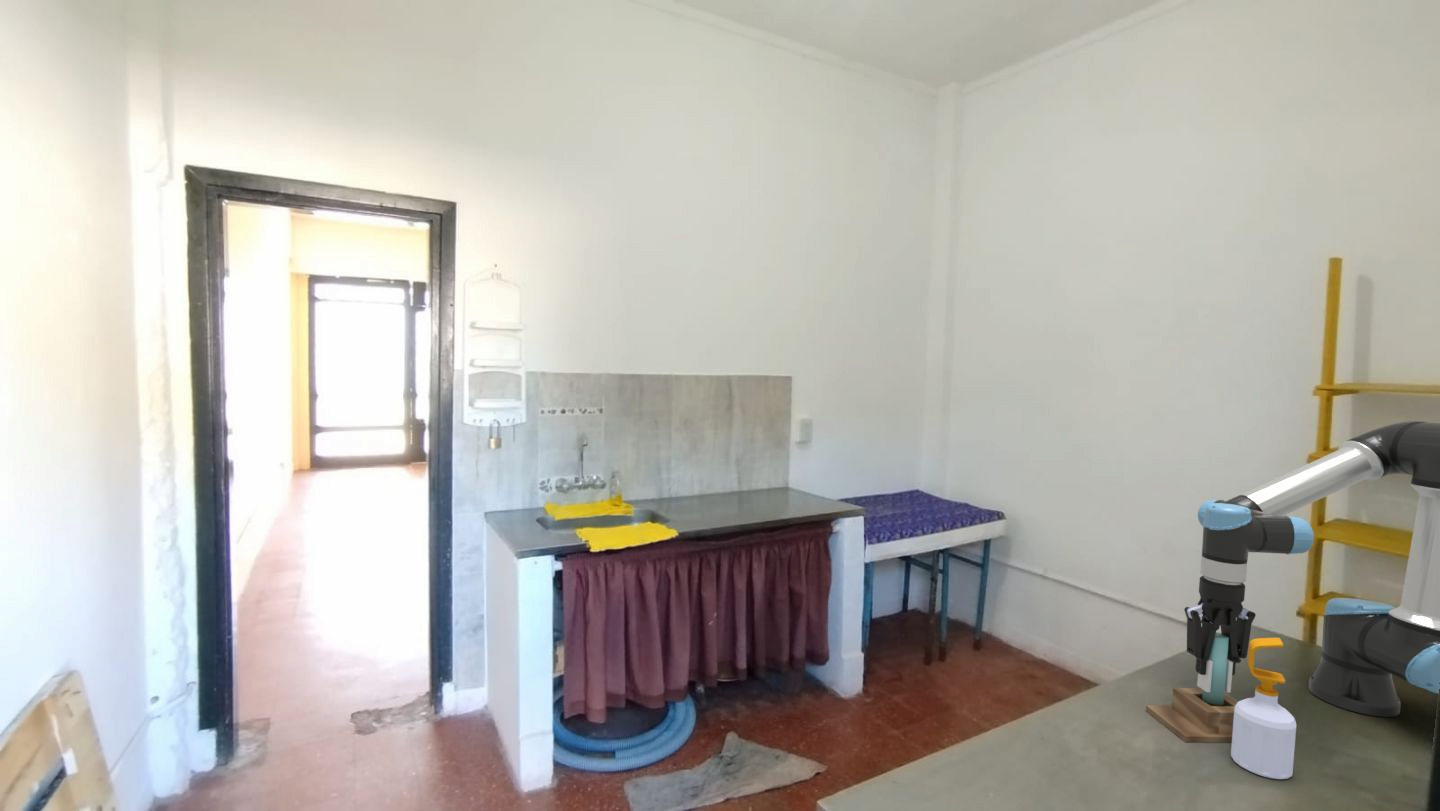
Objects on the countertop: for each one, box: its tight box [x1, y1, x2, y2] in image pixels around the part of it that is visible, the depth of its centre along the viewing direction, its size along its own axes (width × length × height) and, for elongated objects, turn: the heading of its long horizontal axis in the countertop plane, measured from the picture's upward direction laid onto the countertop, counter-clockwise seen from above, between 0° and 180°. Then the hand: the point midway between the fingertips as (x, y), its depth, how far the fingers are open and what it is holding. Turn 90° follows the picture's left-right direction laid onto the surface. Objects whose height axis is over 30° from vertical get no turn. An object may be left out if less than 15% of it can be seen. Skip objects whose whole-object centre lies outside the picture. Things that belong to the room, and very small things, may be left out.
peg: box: [1202, 632, 1229, 705], centre depth 138 cm, size 4×4×14 cm
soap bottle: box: [1230, 637, 1297, 780], centre depth 124 cm, size 9×9×25 cm
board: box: [1145, 687, 1240, 744], centre depth 138 cm, size 20×12×6 cm, turn 91°
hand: (1213, 688), depth 138 cm, fingers closed on peg, 3 cm apart
